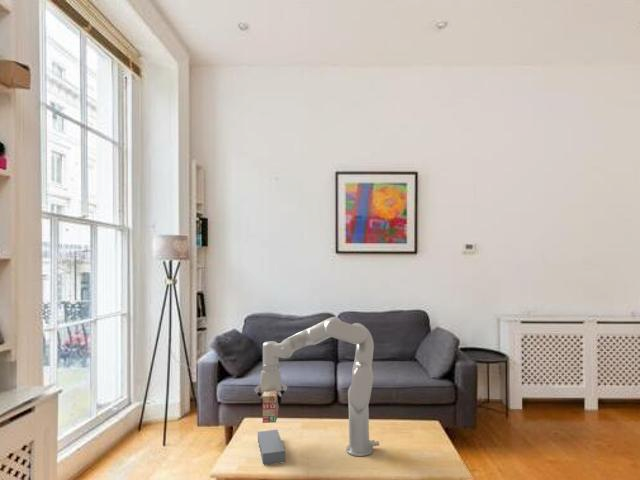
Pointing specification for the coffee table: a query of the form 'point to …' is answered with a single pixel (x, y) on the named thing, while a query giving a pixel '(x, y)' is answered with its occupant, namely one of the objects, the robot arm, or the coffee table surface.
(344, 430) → the coffee table surface
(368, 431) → the robot arm
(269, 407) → the stack of blocks
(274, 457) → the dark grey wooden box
